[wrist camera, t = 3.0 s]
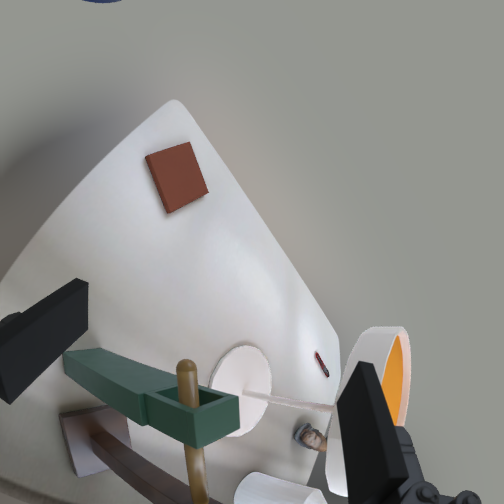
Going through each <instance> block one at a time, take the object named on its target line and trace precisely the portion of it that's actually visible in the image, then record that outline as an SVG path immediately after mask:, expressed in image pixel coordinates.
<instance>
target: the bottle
mask: <svg viewBox="0 0 504 504" xmlns="http://www.w3.org/2000/svg"><path fill="white" fill-rule="evenodd" d="M234 504H327V502H326V500H325V499H324V497H323V494H322V492H321V490H319V489H316V488H311V487H308V486H304V485H300V484H296V483H292V482H289V481H285V480H282V479H279V478H275V477H272V476H269V475H266V474H263V473H260V472H252V473H250V474H248V475H247V476H246V477H245V478H244V479H243V480H242V481H241V482H240V484H239V485H238V487H237V489H236V492H235V495H234Z"/></svg>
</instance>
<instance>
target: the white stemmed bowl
mask: <svg viewBox="0 0 504 504" xmlns="http://www.w3.org/2000/svg"><path fill="white" fill-rule="evenodd" d="M358 361H364V362H369V363H373V364H374V367H375V370H376V373H377V375H378V378H379V381H380V384H381V387H382V390H383V393H384V396H385V399H386V402H387V405H388V408H389V411H390V414H391V417H392V420H393V423H394V426H403V427H404V423H405V418H406V413H407V407H408V401H409V392H410V380H411V349H410V343H409V337H408V333H407V332H406V330H405V329H404V328H403V327H371V328H369V329H367V330H366V331H364V332H363V333H361V335H360V337H359V339H358V340H357V342H356V344H355V346H354V348H353V350H352V352H351V354H350V355H349V357H348V361H347V364H346V367H345V370H344V373H343V376H342V380H341V383H340V386H339V389H338V391H337V394H336V400H335V405H334V406H331V405H325V404H318V403H312V402H306V401H300V400H294V399H289V398H283V397H278V396H273V395H270V393H271V388H272V386H271V370H270V367H269V364H268V360H267V358H266V357H265V356H264V354H263V353H262V352H261V351H260V350H259V349H258V348H255V347H252V346H249V345H244V346H240V347H236V348H233V349H232V350H231V351H229V352H228V353H227V354H226V355H225V356H224V357H223V358H222V359H221V360H220V361H219V363H218V365H217V367H216V369H215V370H214V372H213V374H212V376H211V379H210V383H209V388H211V389H214V390H218V391H221V392H225V393H229V394H233V395H236V396H239V411H240V429H238V430H236V431H234V432H233V433H231V434H229V435H227V436H228V437H235V436H242V435H243V434H245V433H247V432H249V431H250V430H252V429H253V428H254V426H255V425H256V424H257V423H258V422H259V421H260V419H261V418H262V416H263V414H264V412H265V410H266V407H267V405H268V402H272V403H277V404H282V405H287V406H292V407H297V408H303V409H308V410H314V411H320V412H326V413H333V415H332V420H331V424H330V429H329V434H328V439H327V456H326V470H325V473H326V477H327V481H328V486H329V490H330V491H331V492H333V493H335V494H338V495H341V496H346V497H348V492H347V482H346V473H345V465H344V456H343V448H342V441H341V433H340V426H339V419H338V412H337V405H336V402H337V401H338V399H339V397H340V395H341V393H342V392H343V390H344V388H345V386H346V384H347V382H348V380H349V379H350V377H351V375H352V373H353V371H354V369H355V367H356V365H357V363H358Z"/></svg>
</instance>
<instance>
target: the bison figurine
mask: <svg viewBox="0 0 504 504" xmlns="http://www.w3.org/2000/svg"><path fill="white" fill-rule="evenodd" d="M311 428H312V427H311V424H309V423H306V424H304V425H302V426H301V427H300V428H299V429H298V430H297V432H296V434H295V440H296V441H297V442H298V443H299V444H300V445H301V446H303V447H306V448H308V449H313V450H316V451H320V452H322V451H327V439H328V436H327V437H326V438H325V437H324V436H323V435H322V433H320V432H319V430H316V429H314V428H313V429H311Z"/></svg>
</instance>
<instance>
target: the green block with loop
mask: <svg viewBox="0 0 504 504" xmlns="http://www.w3.org/2000/svg"><path fill="white" fill-rule="evenodd" d="M63 361H64V369H65V374H66V375H67V376H69V377H70V378H71V379H73V380H74V381H75V382H77V383H78V384H79V385H81V386H82V387H83V388H85V389H86V390H87V391H89V392H90V393H92V394H93V395H94V396H96V397H97V398H99V399H100V400H102V401H103V402H105V403H106V404H108V405H109V406H110V407H112V408H114V409H115V410H117V411H118V412H120V413H121V414H123V415H124V416H126V417H128V418H129V419H131V420H132V421H134V422H136V423H137V424H139V425H141V426H145V425H149V426H151V427H153V428H155V429H157V430H159V431H161V432H162V433H164V434H166V435H168V436H170V437H172V438H174V439H176V440H178V441H180V442H182V443H184V444H186V445H188V446H190V447H192V448H194V449H197V450H198V449H200V448H202V447H204V446H206V445H208V444H210V443H213V442H215V441H217V440H219V439H221V438H223V437H225V436H227V435H229V434H231V433H233V432H234V431H236V430H238V429H240V411H239V396H236V395H233V394H229V393H225V392H221V391H218V390H214V389H211V388H207V387H204V386H200V385H198V393H199V406H200V407H197V408H192V407H189V406H186V405H184V404H181V403H179V396H178V385H177V375H174V374H171V373H168V372H165V371H162V370H159V369H156V368H153V367H150V366H147V365H144V364H142V363H139V362H136V361H133V360H131V359H128V358H125V357H123V356H120V355H117V354H115V353H112V352H110V351H107V350H105V349H102V348H96V349H87V350H77V351H67V352H63Z"/></svg>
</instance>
